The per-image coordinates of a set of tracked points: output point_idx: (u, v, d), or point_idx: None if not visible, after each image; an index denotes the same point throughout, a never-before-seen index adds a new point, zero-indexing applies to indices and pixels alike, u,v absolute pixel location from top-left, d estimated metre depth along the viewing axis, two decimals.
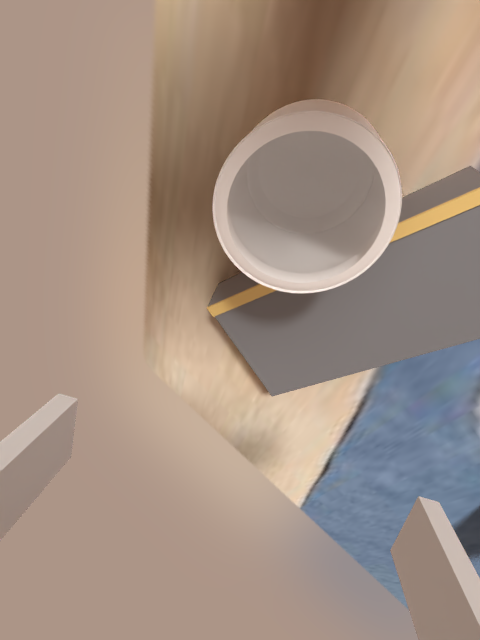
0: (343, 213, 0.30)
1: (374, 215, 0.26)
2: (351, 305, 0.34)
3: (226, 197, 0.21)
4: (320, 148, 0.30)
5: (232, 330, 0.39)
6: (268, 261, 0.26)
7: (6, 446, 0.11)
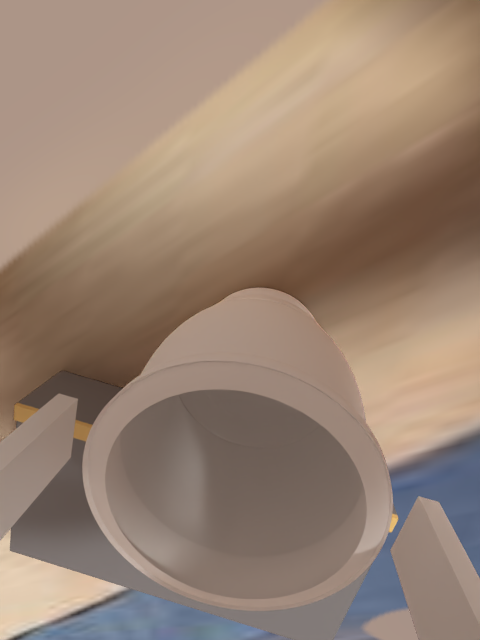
0: (255, 435, 0.23)
1: (289, 489, 0.19)
2: None
3: (150, 402, 0.11)
4: None
5: None
6: (136, 469, 0.16)
7: (6, 446, 0.11)
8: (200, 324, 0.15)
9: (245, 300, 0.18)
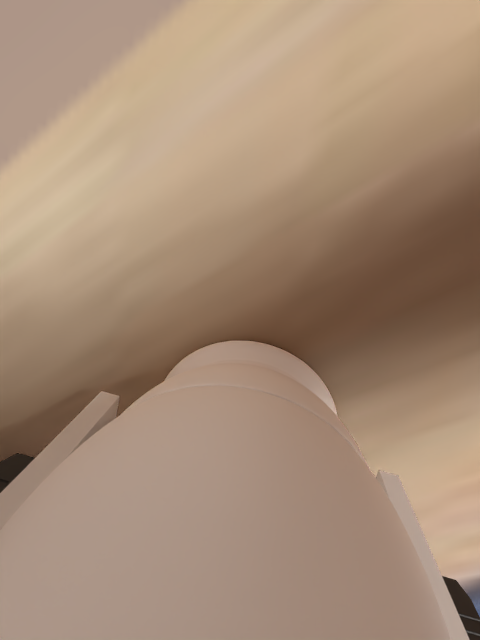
0: None
1: None
2: None
3: None
4: None
5: None
6: None
7: (63, 439, 0.11)
8: (72, 511, 0.06)
9: (200, 407, 0.09)
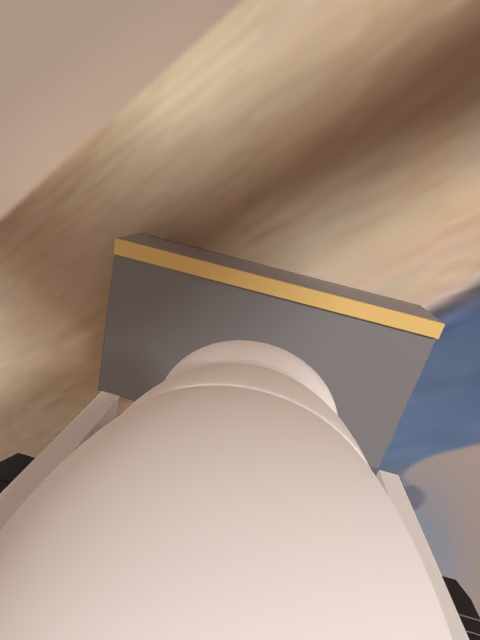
0: None
1: None
2: None
3: None
4: None
5: (120, 285, 0.30)
6: None
7: (64, 439, 0.11)
8: (72, 511, 0.06)
9: (200, 407, 0.09)
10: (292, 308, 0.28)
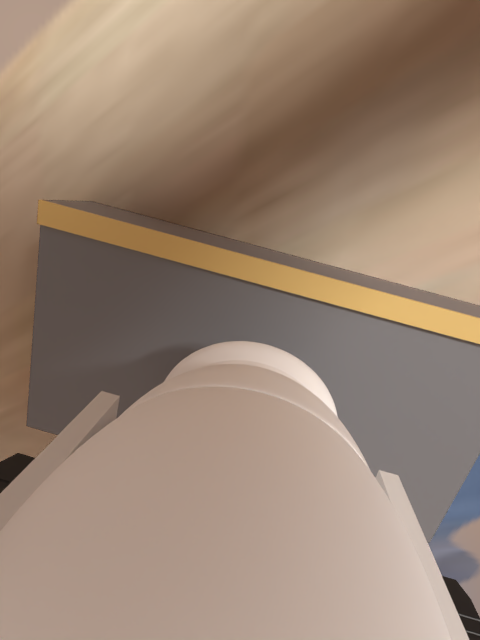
0: None
1: None
2: None
3: None
4: None
5: (51, 273, 0.20)
6: None
7: (64, 439, 0.11)
8: (71, 513, 0.06)
9: (200, 408, 0.09)
10: (312, 310, 0.19)
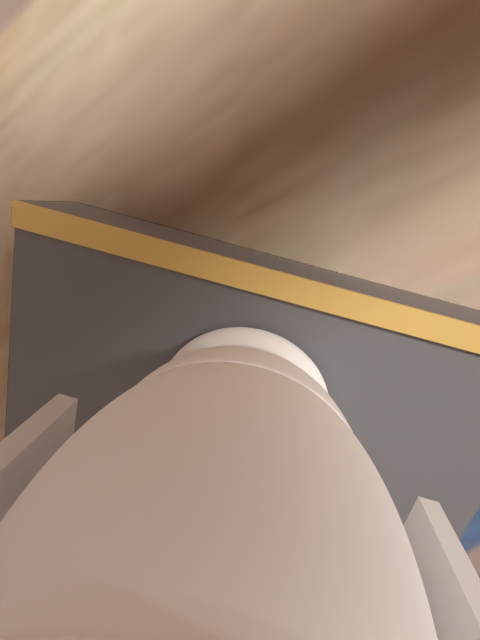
0: None
1: None
2: None
3: None
4: None
5: (28, 280, 0.18)
6: None
7: (6, 446, 0.11)
8: (100, 451, 0.07)
9: (205, 376, 0.10)
10: (313, 322, 0.17)
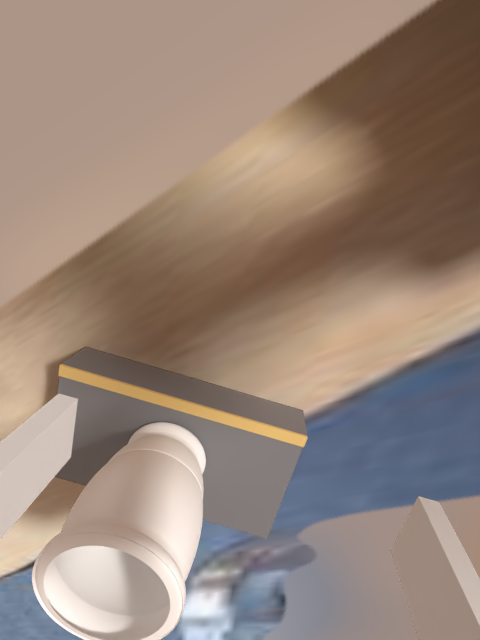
0: None
1: None
2: None
3: (64, 549, 0.24)
4: None
5: None
6: (66, 565, 0.28)
7: (6, 446, 0.11)
8: (102, 487, 0.27)
9: (136, 459, 0.30)
10: (197, 420, 0.37)
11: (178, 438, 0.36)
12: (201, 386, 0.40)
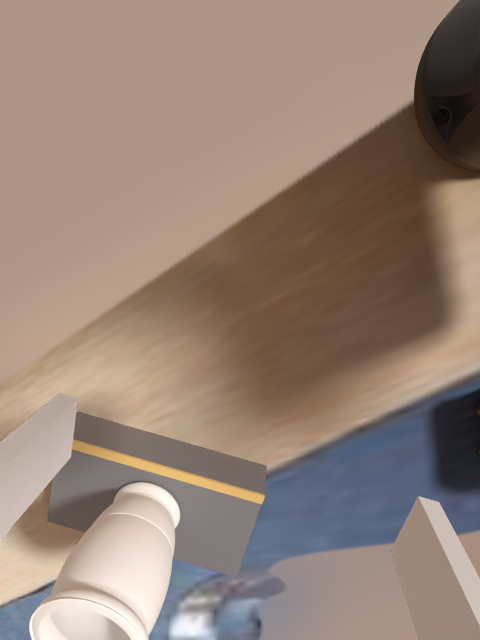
0: None
1: None
2: None
3: (52, 610, 0.30)
4: None
5: None
6: (58, 613, 0.35)
7: (6, 446, 0.11)
8: (85, 553, 0.34)
9: (114, 525, 0.37)
10: (171, 480, 0.44)
11: (154, 497, 0.43)
12: (177, 447, 0.47)
